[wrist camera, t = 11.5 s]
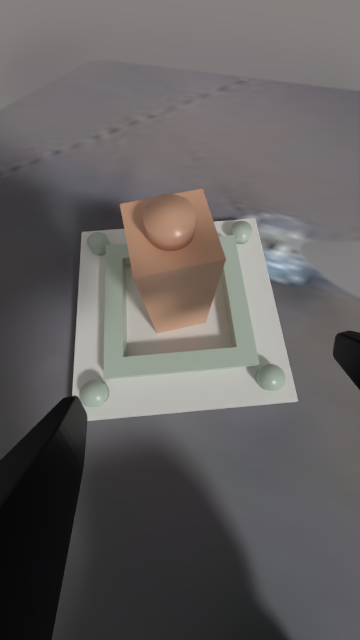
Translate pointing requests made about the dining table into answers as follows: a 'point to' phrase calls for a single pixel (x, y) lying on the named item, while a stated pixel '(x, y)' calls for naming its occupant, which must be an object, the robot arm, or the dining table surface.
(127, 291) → the base plate
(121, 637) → the dining table surface
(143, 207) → the tall brick
